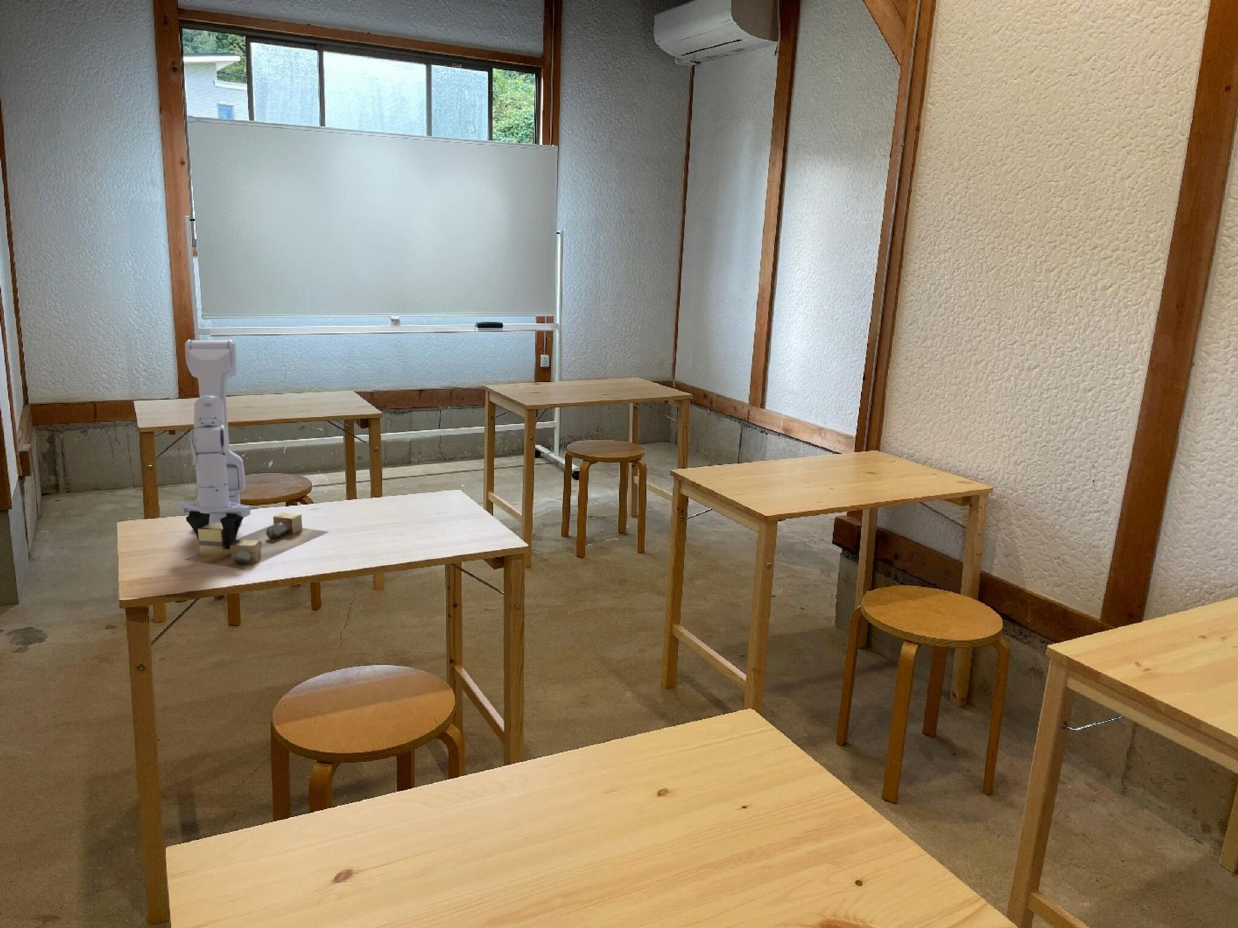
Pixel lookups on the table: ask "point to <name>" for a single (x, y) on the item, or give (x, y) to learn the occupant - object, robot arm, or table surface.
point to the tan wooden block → (212, 541)
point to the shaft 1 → (245, 551)
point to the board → (265, 546)
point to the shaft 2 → (285, 525)
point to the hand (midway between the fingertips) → (217, 547)
